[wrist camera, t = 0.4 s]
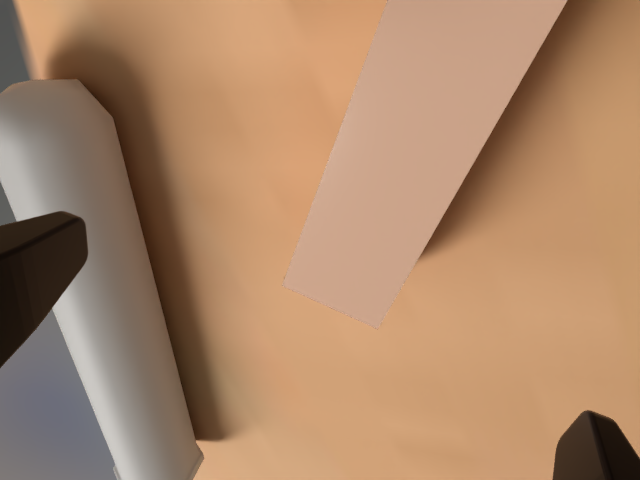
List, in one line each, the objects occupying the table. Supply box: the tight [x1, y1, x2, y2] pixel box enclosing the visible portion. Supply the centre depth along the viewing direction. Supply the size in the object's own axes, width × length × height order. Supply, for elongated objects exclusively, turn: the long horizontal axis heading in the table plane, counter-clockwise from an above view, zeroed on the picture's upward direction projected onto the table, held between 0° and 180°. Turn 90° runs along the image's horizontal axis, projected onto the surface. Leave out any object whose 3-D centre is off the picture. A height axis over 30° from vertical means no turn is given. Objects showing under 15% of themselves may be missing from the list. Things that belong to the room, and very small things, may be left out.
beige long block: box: [282, 0, 567, 329], centre depth 17 cm, size 4×16×4 cm, turn 162°
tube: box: [0, 79, 204, 480], centre depth 27 cm, size 5×5×25 cm
